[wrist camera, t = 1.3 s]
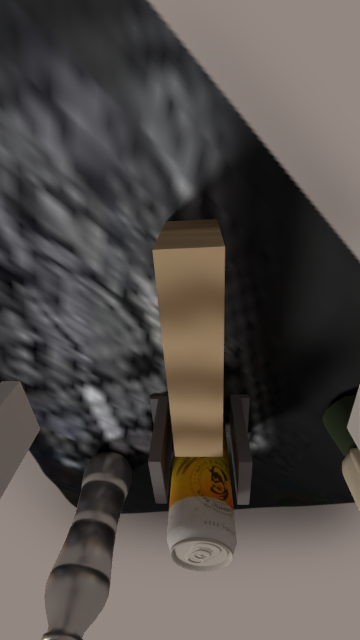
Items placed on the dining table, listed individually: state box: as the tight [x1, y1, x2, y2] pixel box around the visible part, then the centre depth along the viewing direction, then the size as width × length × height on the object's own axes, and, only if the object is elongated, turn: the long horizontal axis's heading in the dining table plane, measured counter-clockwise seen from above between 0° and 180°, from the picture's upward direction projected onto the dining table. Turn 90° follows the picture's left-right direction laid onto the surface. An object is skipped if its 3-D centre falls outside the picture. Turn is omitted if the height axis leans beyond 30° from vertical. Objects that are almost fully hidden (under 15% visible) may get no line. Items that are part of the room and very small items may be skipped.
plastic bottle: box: [42, 452, 132, 640], centre depth 34 cm, size 6×7×20 cm
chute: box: [148, 394, 252, 505], centre depth 34 cm, size 7×12×9 cm, turn 94°
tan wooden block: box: [153, 219, 225, 457], centre depth 27 cm, size 20×4×9 cm, turn 4°
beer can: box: [167, 418, 237, 571], centre depth 31 cm, size 6×6×15 cm
